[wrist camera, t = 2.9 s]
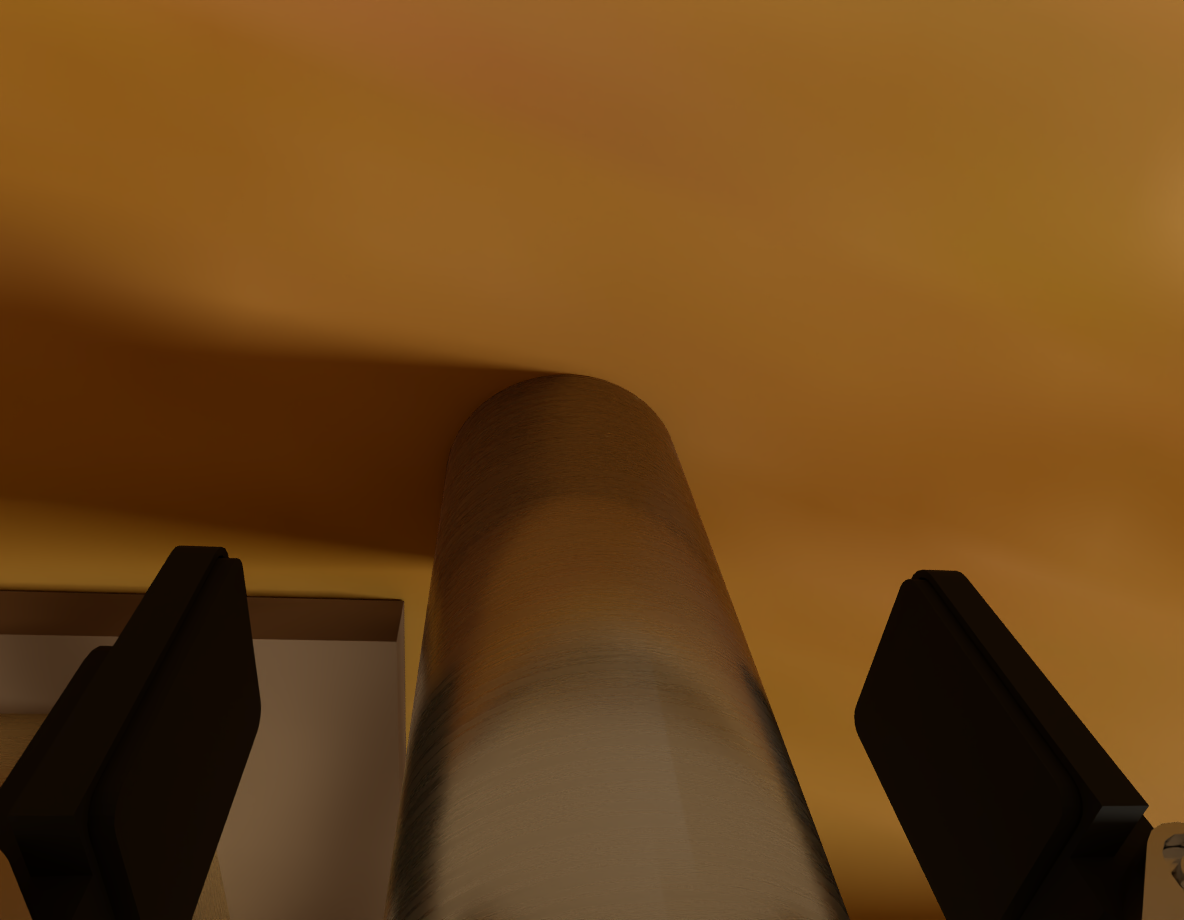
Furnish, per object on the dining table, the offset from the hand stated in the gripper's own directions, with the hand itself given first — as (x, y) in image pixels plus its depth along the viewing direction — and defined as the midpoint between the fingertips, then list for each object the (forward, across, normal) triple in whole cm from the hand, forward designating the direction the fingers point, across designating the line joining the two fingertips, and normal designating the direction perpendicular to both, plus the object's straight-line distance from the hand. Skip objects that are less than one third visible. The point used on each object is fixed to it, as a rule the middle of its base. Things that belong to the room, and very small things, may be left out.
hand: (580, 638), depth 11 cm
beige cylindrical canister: (+4, 0, 0) cm, 4 cm away
